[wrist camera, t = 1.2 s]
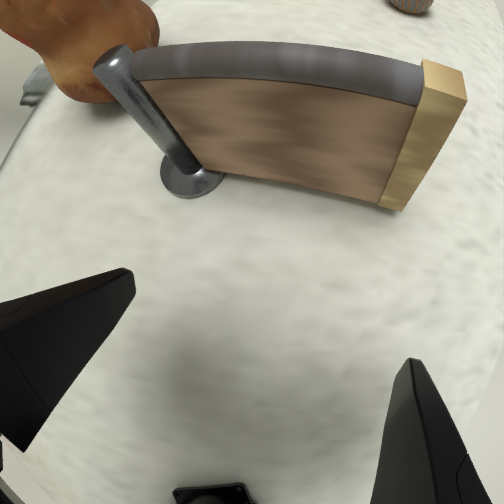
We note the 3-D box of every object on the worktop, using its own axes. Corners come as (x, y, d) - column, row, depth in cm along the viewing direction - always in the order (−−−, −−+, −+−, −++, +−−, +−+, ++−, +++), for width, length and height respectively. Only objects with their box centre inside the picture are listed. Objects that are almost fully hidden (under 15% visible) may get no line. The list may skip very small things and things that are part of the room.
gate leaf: (203, 170, 23) (125, 66, 12) (211, 151, 24) (141, 43, 12) (401, 211, 19) (467, 100, 8) (403, 189, 20) (461, 71, 8)
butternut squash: (80, 94, 33) (-25, -12, 9) (156, 36, 33) (76, -90, 9) (104, 146, 29) (-53, 3, 5) (202, 71, 28) (100, -114, 5)
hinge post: (154, 192, 26) (51, 104, 13) (178, 136, 27) (102, 34, 14) (214, 204, 24) (122, 95, 11) (237, 142, 25) (177, 18, 12)
